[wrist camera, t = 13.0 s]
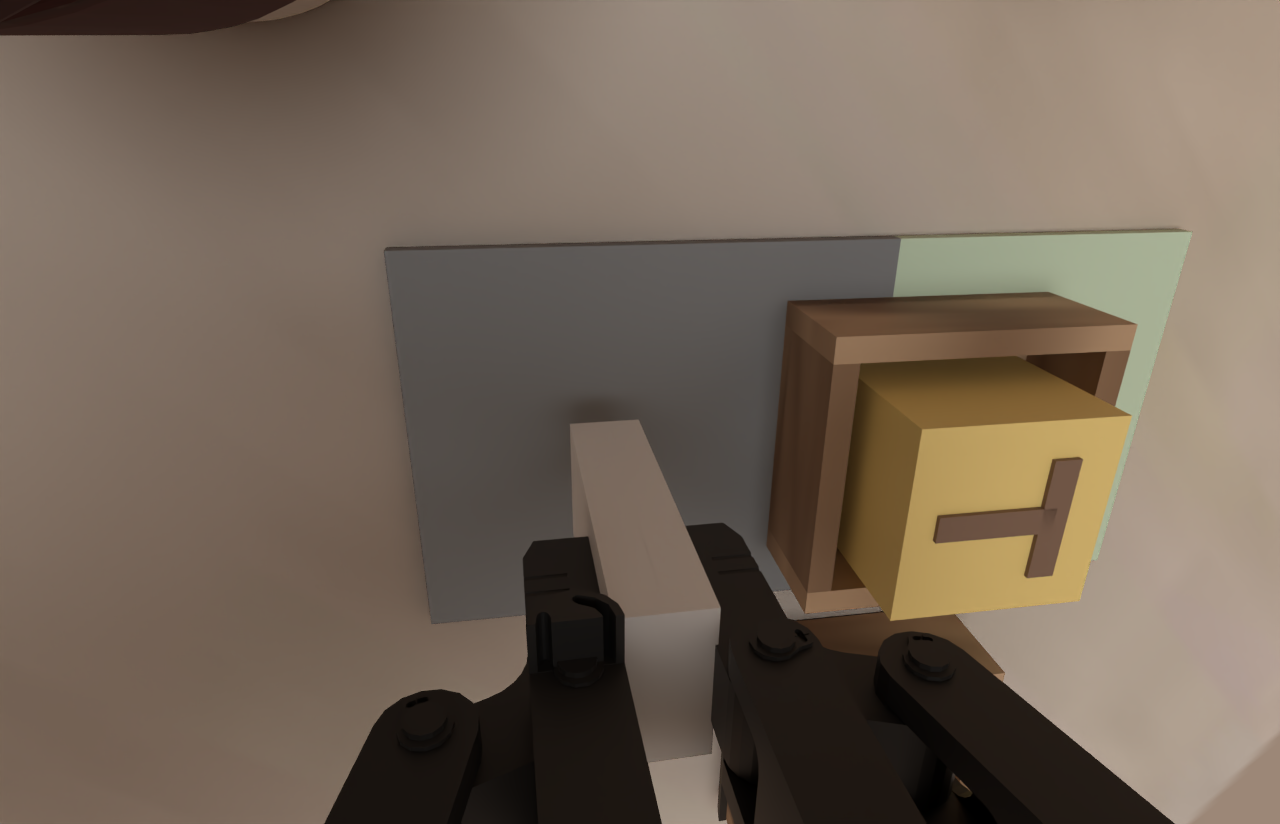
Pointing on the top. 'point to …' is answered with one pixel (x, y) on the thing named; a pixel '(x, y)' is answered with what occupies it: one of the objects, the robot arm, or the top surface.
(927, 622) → the box
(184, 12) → the coffee cup
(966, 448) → the letter cube
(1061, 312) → the box
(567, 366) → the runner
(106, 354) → the top surface
